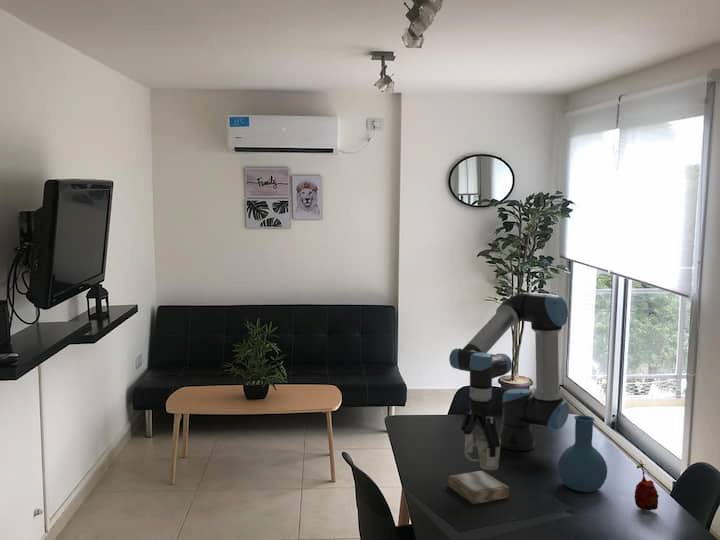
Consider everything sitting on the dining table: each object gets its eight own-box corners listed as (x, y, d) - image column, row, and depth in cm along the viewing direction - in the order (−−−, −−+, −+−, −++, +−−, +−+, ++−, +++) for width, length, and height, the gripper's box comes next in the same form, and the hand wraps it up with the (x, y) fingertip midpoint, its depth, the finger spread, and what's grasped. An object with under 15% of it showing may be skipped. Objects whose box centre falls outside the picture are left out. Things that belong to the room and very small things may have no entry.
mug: (502, 471, 218) (501, 442, 218) (464, 470, 220) (463, 441, 220) (501, 463, 226) (500, 435, 226) (465, 462, 228) (463, 434, 228)
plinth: (481, 480, 236) (482, 469, 236) (508, 497, 221) (508, 486, 221) (448, 486, 230) (448, 475, 230) (473, 504, 216) (473, 492, 215)
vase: (582, 500, 220) (585, 427, 218) (547, 482, 235) (549, 414, 233) (617, 491, 228) (619, 421, 226) (580, 474, 242) (583, 409, 241)
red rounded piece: (645, 513, 211) (647, 468, 209) (628, 504, 217) (630, 460, 216) (662, 509, 214) (664, 465, 213) (645, 501, 220) (647, 457, 219)
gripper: (451, 390, 233) (451, 448, 235) (492, 409, 211) (491, 473, 212) (469, 388, 236) (468, 445, 238) (511, 406, 214) (510, 469, 215)
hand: (479, 458), depth 225 cm, fingers open, 13 cm apart
